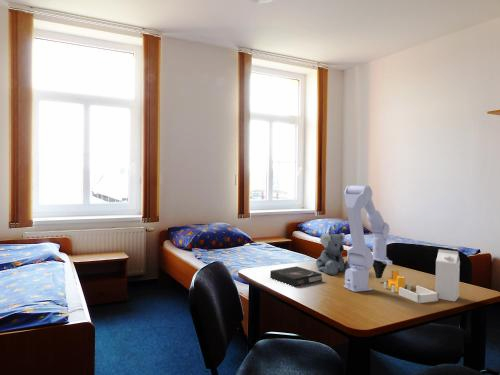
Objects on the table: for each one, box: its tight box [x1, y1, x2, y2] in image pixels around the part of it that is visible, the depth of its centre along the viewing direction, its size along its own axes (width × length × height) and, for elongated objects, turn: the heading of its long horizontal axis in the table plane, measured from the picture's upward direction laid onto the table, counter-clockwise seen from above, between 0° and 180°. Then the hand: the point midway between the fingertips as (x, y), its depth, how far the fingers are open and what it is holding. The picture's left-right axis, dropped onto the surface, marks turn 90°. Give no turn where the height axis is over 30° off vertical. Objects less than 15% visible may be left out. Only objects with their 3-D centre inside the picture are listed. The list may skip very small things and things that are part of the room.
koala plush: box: [315, 232, 351, 276], centre depth 193 cm, size 17×18×20 cm
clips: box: [391, 283, 412, 293], centre depth 160 cm, size 9×1×2 cm, turn 110°
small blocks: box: [383, 281, 388, 289], centre depth 164 cm, size 9×1×2 cm, turn 110°
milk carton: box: [434, 248, 461, 302], centre depth 151 cm, size 7×7×19 cm
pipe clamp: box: [386, 270, 405, 294], centre depth 163 cm, size 12×4×6 cm, turn 171°
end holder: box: [398, 285, 439, 304], centre depth 151 cm, size 10×11×3 cm
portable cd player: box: [269, 266, 323, 288], centre depth 174 cm, size 16×17×4 cm
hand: (378, 277), depth 173 cm, fingers closed
